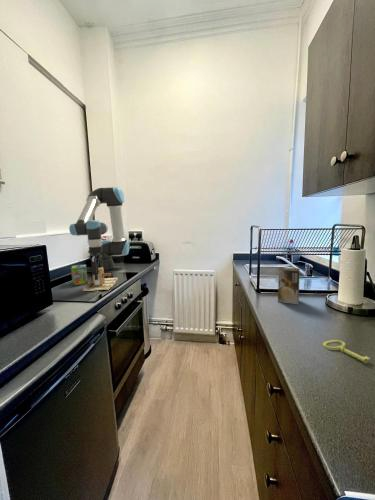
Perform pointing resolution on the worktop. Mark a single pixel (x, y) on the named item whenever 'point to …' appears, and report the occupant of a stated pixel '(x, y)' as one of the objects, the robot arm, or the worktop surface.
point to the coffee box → (288, 285)
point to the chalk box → (79, 274)
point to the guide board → (106, 286)
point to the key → (344, 349)
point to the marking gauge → (101, 276)
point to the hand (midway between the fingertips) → (99, 282)
